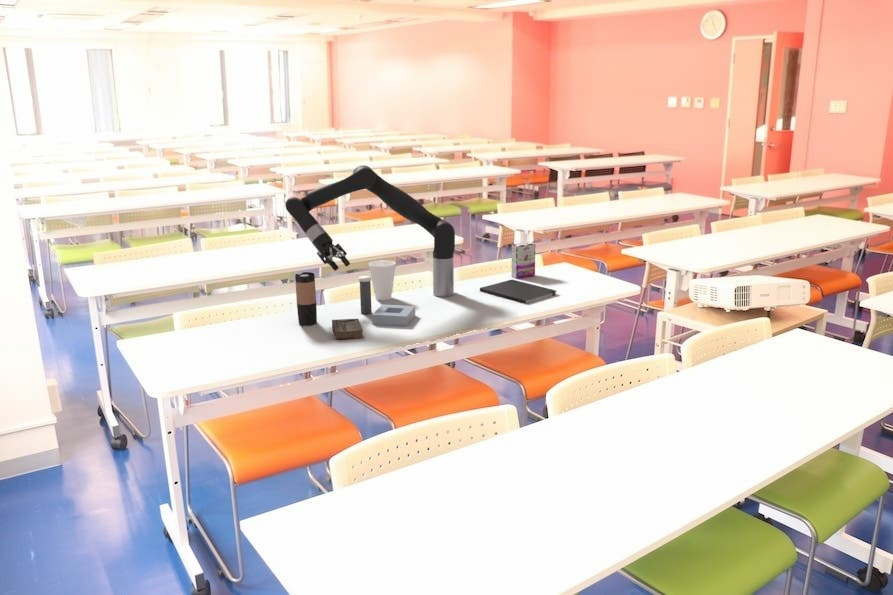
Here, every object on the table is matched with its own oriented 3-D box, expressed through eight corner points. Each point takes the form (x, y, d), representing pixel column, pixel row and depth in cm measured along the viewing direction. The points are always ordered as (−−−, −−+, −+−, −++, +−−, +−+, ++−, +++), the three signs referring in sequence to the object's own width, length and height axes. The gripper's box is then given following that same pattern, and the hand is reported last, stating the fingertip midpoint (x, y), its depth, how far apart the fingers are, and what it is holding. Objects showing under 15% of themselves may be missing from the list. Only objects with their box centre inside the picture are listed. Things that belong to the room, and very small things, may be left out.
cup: (368, 302, 321) (367, 266, 316) (371, 294, 332) (369, 260, 328) (396, 301, 321) (395, 266, 316) (397, 294, 332) (396, 260, 328)
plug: (362, 310, 309) (360, 275, 305) (373, 311, 308) (372, 276, 304) (358, 314, 304) (357, 278, 300) (370, 314, 303) (368, 279, 299)
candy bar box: (529, 273, 366) (530, 241, 362) (535, 276, 362) (536, 243, 358) (510, 276, 361) (511, 243, 357) (516, 278, 357) (517, 245, 352)
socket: (382, 313, 305) (382, 304, 304) (415, 315, 302) (415, 306, 301) (372, 324, 292) (372, 314, 290) (406, 326, 289) (406, 316, 288)
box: (334, 339, 273) (334, 331, 272) (331, 326, 290) (331, 319, 289) (363, 338, 276) (363, 330, 275) (358, 325, 292) (358, 317, 291)
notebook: (479, 292, 336) (525, 305, 316) (479, 287, 336) (525, 300, 316) (511, 283, 350) (557, 295, 330) (511, 279, 350) (558, 290, 330)
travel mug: (315, 325, 290) (312, 276, 284) (296, 325, 290) (292, 276, 285) (319, 319, 297) (316, 271, 292) (300, 319, 298) (297, 272, 292)
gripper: (314, 234, 298) (338, 265, 297) (333, 228, 311) (357, 258, 309) (303, 245, 302) (327, 276, 300) (323, 239, 314) (346, 269, 313)
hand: (342, 267), depth 305 cm, fingers open, 8 cm apart
